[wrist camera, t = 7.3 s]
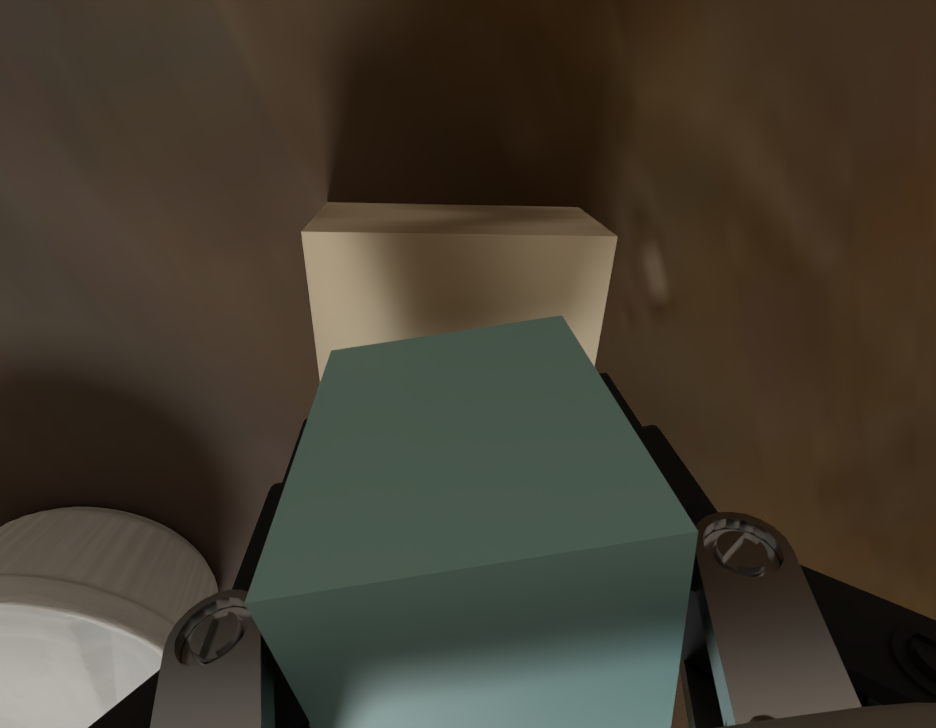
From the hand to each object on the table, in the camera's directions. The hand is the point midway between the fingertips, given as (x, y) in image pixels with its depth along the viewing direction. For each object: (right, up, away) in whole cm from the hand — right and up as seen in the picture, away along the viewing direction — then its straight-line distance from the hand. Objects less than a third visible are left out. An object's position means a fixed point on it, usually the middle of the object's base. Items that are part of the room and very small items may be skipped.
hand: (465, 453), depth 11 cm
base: (0, +4, +7) cm, 8 cm away
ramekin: (-16, -8, +12) cm, 21 cm away
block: (0, +1, +1) cm, 1 cm away
